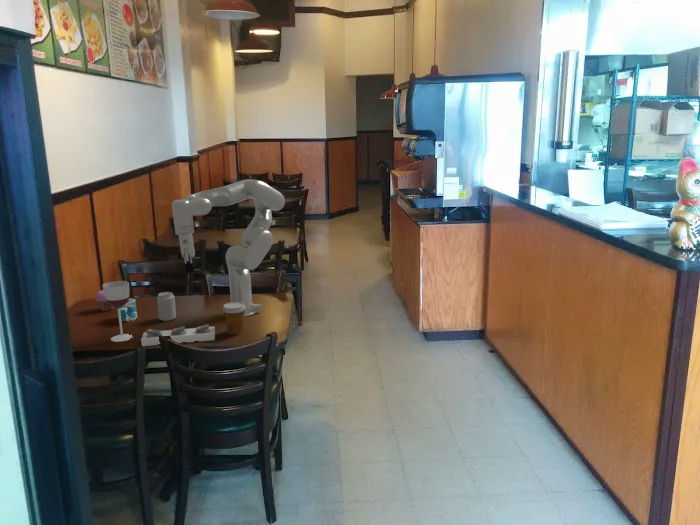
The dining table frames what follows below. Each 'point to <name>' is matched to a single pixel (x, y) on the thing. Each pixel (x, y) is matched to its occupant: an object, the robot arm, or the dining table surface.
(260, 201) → the robot arm
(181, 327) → the rocker middle
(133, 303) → the mug
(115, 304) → the wineglass
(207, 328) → the rocker
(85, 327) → the dining table surface
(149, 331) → the rocker
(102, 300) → the cupcake
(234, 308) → the disposable coffee cup
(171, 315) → the can
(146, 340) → the power strip
